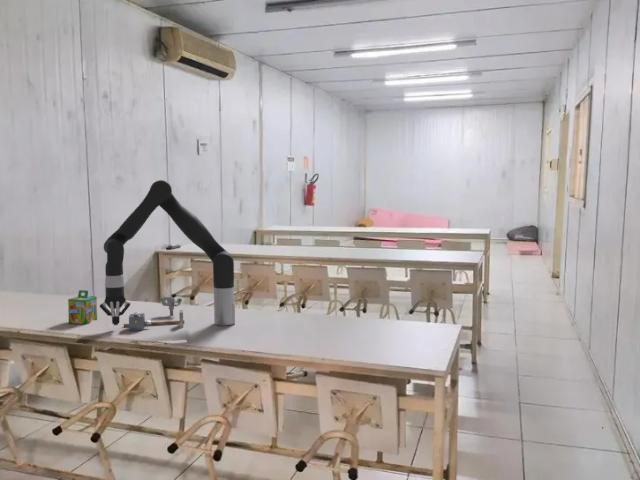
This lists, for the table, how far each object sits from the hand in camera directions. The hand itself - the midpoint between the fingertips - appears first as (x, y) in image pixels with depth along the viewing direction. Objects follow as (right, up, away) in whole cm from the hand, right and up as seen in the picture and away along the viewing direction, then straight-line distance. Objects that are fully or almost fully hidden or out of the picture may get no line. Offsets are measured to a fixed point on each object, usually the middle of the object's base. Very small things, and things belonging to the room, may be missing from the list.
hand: (115, 324), depth 228 cm
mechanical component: (+17, -1, +26) cm, 31 cm away
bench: (+15, -3, +4) cm, 16 cm away
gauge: (+10, -2, +1) cm, 11 cm away
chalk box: (-23, -2, +19) cm, 30 cm away
